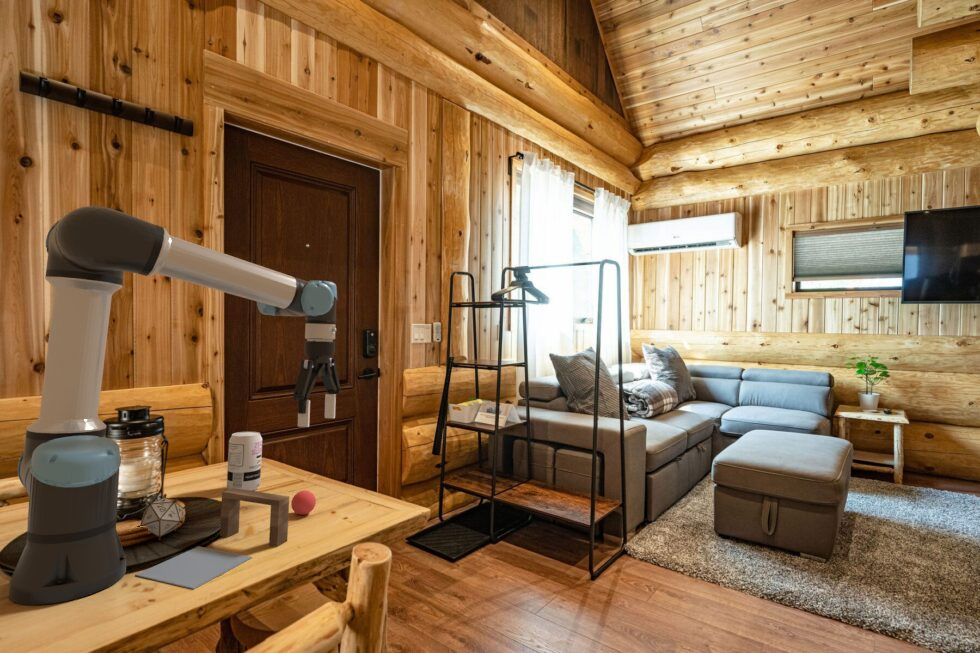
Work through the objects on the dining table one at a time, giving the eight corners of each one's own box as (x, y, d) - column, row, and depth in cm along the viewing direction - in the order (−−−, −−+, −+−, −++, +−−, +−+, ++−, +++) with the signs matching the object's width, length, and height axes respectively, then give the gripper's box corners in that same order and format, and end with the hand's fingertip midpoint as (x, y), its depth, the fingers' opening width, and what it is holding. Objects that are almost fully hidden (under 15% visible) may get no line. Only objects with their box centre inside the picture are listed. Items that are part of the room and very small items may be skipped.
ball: (305, 519, 117) (306, 495, 118) (285, 516, 119) (286, 492, 119) (320, 512, 123) (321, 489, 123) (300, 509, 124) (301, 486, 125)
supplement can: (227, 486, 140) (229, 431, 141) (259, 483, 144) (262, 430, 144) (225, 494, 133) (228, 437, 133) (260, 491, 137) (262, 436, 137)
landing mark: (193, 589, 84) (193, 588, 84) (135, 575, 88) (135, 574, 88) (251, 558, 97) (252, 556, 97) (198, 547, 100) (198, 546, 100)
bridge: (277, 546, 102) (279, 500, 102) (219, 535, 106) (222, 491, 107) (287, 541, 105) (289, 496, 105) (231, 530, 109) (233, 487, 109)
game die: (171, 553, 106) (201, 516, 106) (128, 550, 99) (160, 511, 99) (164, 521, 112) (192, 486, 111) (123, 517, 105) (153, 480, 105)
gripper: (308, 341, 119) (305, 431, 119) (354, 340, 144) (351, 415, 143) (279, 340, 120) (276, 429, 120) (329, 339, 145) (327, 414, 145)
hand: (317, 422), depth 132 cm, fingers open, 13 cm apart
